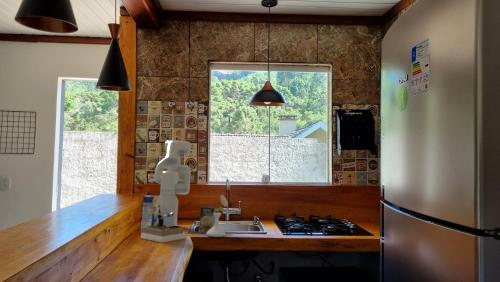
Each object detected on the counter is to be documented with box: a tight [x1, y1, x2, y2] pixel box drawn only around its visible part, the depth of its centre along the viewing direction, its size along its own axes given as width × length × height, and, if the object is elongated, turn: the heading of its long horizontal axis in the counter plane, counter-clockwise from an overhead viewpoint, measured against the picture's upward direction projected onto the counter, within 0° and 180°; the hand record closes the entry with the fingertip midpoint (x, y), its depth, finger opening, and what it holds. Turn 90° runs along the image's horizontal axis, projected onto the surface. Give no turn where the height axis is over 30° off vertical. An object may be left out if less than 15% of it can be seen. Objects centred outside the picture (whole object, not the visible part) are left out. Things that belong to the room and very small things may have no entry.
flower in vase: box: [205, 194, 229, 238], centre depth 210 cm, size 13×11×25 cm
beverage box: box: [140, 194, 160, 235], centre depth 210 cm, size 7×11×22 cm, turn 164°
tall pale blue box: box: [156, 216, 173, 229], centre depth 195 cm, size 8×5×6 cm, turn 57°
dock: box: [140, 225, 186, 243], centre depth 194 cm, size 16×18×6 cm
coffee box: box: [198, 206, 217, 234], centre depth 222 cm, size 9×6×16 cm
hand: (164, 225), depth 195 cm, fingers closed on tall pale blue box, 5 cm apart
